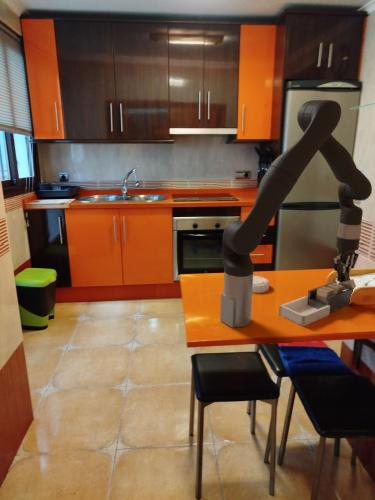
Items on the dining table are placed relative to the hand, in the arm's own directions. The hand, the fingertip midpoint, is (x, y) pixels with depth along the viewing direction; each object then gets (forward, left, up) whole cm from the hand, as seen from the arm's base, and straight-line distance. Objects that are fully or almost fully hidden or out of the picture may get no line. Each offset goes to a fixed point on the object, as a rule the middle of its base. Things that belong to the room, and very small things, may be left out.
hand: (342, 280), depth 129 cm
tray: (-22, 0, -8) cm, 23 cm away
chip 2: (-5, 0, -5) cm, 7 cm away
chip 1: (-11, 0, -5) cm, 12 cm away
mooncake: (-18, +28, -8) cm, 34 cm away
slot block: (-7, 0, -8) cm, 10 cm away
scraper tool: (0, -3, -2) cm, 4 cm away
